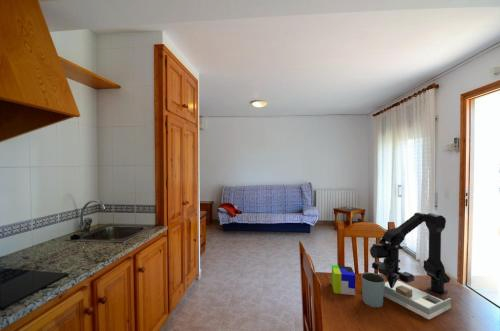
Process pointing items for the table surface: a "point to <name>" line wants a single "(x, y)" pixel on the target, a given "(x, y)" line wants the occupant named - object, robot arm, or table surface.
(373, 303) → the grey cup
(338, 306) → the table surface
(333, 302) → the table surface
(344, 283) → the puzzle toy
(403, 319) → the table surface
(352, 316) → the table surface
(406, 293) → the block
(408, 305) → the tray
